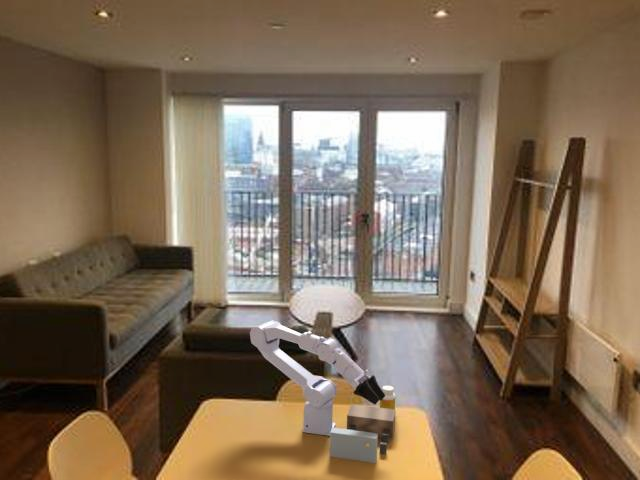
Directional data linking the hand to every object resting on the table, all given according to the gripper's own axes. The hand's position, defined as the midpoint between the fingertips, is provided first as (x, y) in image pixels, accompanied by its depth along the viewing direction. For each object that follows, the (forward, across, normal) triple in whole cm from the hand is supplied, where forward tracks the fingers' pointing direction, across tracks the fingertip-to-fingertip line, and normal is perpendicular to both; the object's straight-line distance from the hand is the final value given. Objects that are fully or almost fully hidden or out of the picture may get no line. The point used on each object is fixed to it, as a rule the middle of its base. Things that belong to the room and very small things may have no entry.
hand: (380, 400), depth 169 cm
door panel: (+5, -3, +18) cm, 19 cm away
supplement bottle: (+3, +26, +10) cm, 28 cm away
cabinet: (+4, +9, +14) cm, 17 cm away
